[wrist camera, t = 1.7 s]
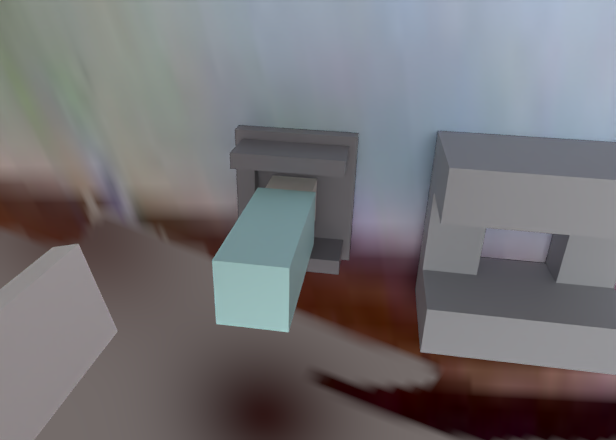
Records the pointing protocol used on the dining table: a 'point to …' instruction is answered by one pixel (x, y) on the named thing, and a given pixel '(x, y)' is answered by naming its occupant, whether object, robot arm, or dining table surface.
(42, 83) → the dining table surface
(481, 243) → the port
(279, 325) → the plug
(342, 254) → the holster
